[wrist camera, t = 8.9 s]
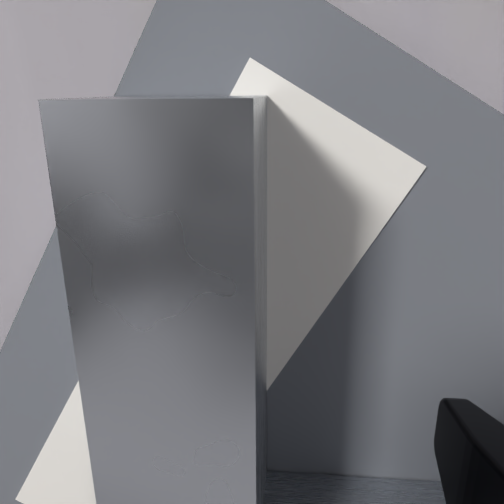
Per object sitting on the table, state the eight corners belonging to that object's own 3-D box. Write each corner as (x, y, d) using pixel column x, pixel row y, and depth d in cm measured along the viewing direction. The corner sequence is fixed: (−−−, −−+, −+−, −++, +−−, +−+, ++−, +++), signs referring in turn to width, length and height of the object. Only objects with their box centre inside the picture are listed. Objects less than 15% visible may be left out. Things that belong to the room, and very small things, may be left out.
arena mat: (197, -78, 9) (193, -84, 8) (808, 312, 10) (825, 320, 10) (-69, 513, 14) (-77, 523, 14) (347, 718, 15) (348, 731, 15)
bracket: (115, 96, 10) (38, 100, 7) (598, 92, 9) (742, 94, 6) (158, 551, 13) (120, 675, 11) (496, 577, 13) (553, 719, 10)
